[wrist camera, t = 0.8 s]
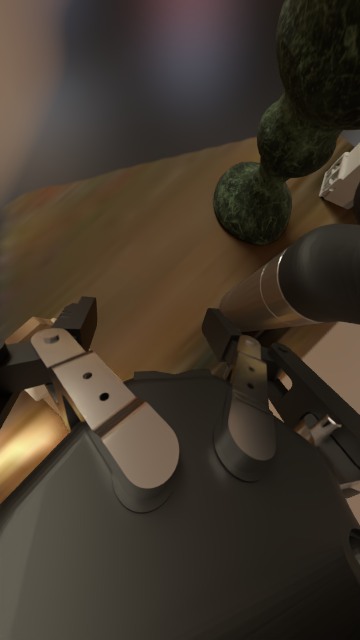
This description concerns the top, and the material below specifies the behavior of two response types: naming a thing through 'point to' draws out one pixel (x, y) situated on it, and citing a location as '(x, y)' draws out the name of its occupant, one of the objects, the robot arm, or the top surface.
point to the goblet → (297, 116)
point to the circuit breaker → (342, 179)
